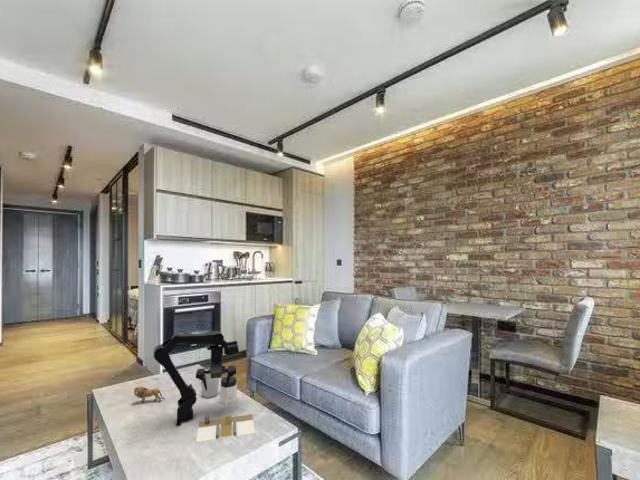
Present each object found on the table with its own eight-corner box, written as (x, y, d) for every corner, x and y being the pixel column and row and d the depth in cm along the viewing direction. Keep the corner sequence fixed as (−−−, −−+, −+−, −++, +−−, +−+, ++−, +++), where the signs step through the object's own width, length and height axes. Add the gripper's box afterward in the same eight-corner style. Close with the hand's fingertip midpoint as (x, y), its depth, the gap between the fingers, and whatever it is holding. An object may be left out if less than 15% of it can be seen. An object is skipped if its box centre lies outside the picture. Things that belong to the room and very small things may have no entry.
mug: (221, 394, 177) (222, 376, 177) (207, 400, 170) (207, 381, 170) (208, 388, 184) (208, 371, 185) (194, 394, 177) (194, 376, 178)
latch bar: (221, 427, 142) (221, 416, 142) (231, 425, 143) (231, 415, 143) (220, 437, 134) (220, 426, 134) (231, 435, 135) (231, 424, 135)
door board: (196, 444, 130) (196, 432, 131) (199, 424, 146) (199, 412, 146) (254, 435, 137) (255, 423, 137) (252, 416, 153) (252, 405, 153)
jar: (222, 407, 162) (222, 383, 162) (217, 401, 169) (218, 378, 169) (239, 403, 167) (239, 380, 167) (234, 397, 174) (234, 375, 174)
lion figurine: (132, 407, 163) (133, 389, 163) (134, 402, 167) (134, 385, 168) (164, 401, 168) (164, 384, 169) (165, 397, 173) (165, 380, 173)
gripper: (194, 364, 146) (194, 399, 146) (236, 361, 151) (236, 394, 151) (197, 357, 157) (196, 389, 156) (236, 353, 162) (235, 384, 161)
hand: (216, 389), depth 156 cm, fingers open, 9 cm apart
